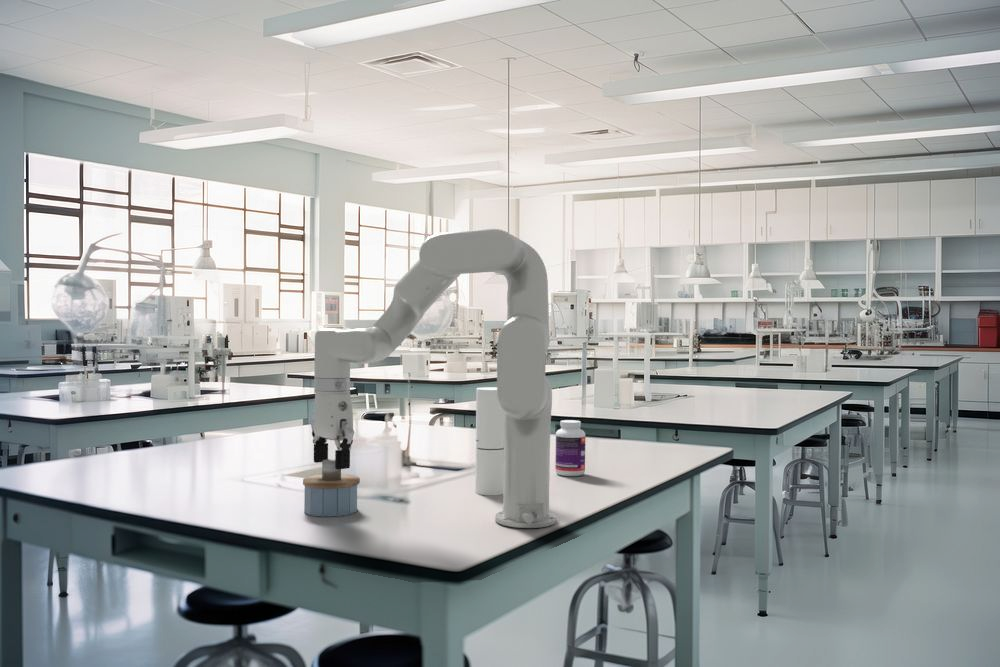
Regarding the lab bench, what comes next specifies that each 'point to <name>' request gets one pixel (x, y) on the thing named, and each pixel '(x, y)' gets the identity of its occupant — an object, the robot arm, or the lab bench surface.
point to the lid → (331, 477)
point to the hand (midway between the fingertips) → (331, 465)
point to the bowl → (330, 501)
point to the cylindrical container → (489, 442)
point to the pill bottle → (570, 449)
